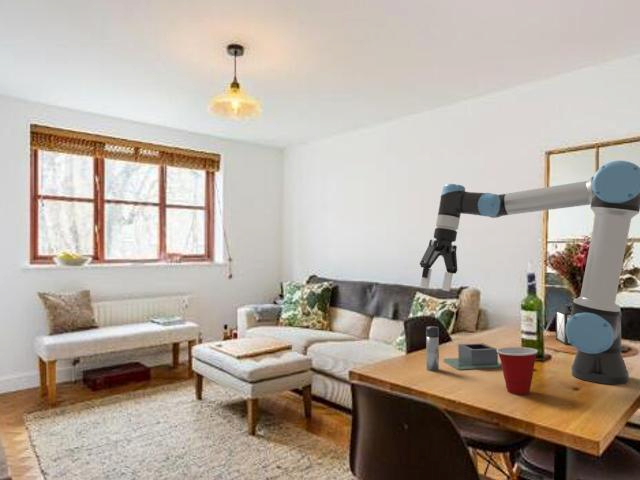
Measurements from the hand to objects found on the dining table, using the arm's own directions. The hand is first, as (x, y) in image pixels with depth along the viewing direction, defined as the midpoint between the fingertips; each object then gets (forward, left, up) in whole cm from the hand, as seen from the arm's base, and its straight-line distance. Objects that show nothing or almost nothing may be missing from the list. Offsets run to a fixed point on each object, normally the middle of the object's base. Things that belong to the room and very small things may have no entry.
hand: (435, 289), depth 157 cm
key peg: (-5, +3, -26) cm, 27 cm away
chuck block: (-1, -13, -26) cm, 29 cm away
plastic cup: (-31, -11, -26) cm, 42 cm away
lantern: (+23, -72, -26) cm, 80 cm away
